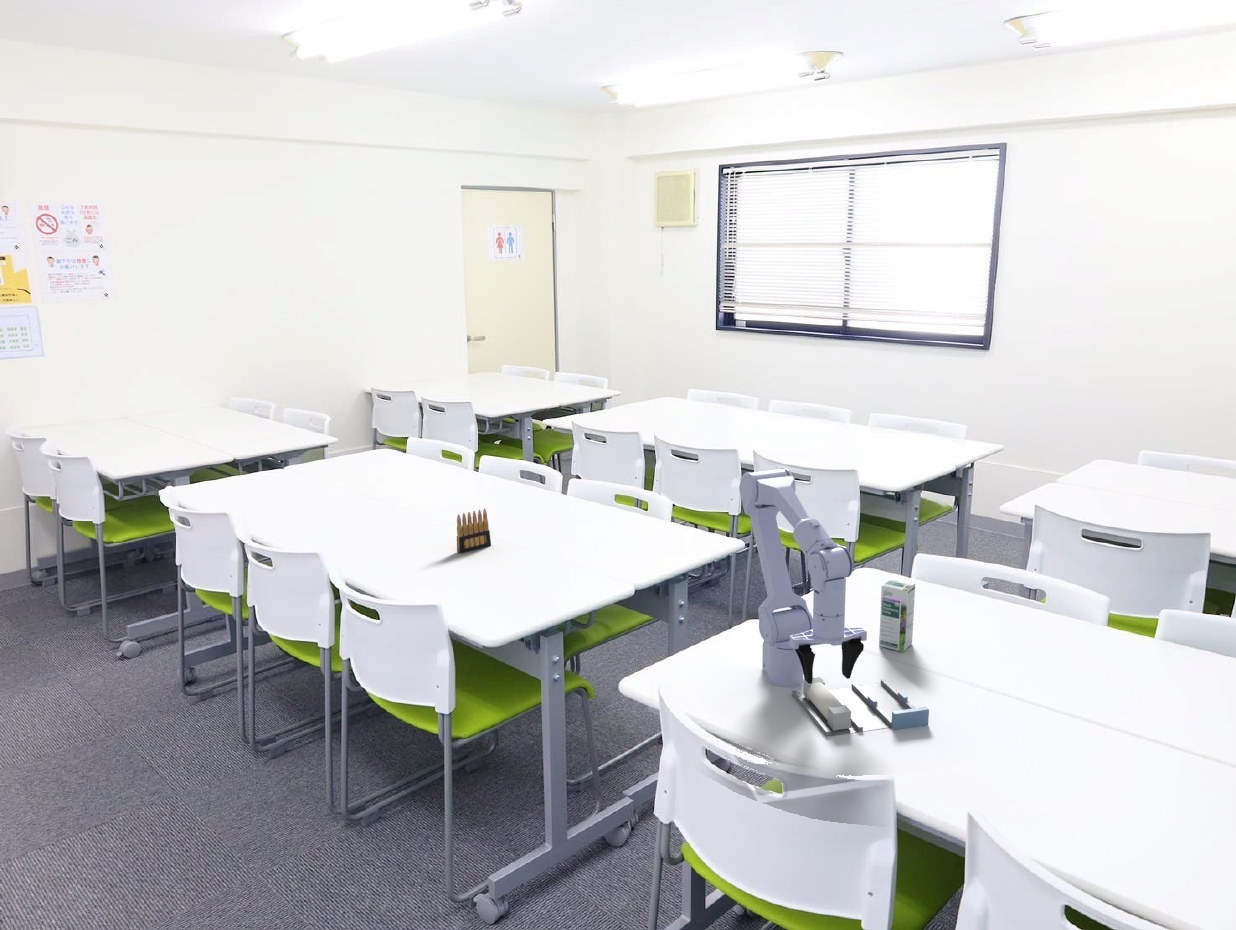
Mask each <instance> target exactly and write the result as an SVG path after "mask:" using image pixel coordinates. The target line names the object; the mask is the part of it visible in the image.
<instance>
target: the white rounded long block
mask: <svg viewBox="0 0 1236 930" xmlns="http://www.w3.org/2000/svg"><path fill="white" fill-rule="evenodd" d="M802 683H803V685H802V687H803V688H802V691H803V693H802V694H803V695H804V697H805V698H806V699H807V700H808V701H811V702H812V703H813V704H814V705H815V706H816V708H817V709H818V710H819V711H820V712H821V714H822V715H823V716H824V717H825V718H826V719H827V721H828V725H829V726H830V727H831V728H832V730H833V731H834V730H841V729H848V728H851V710H850V709H849V708H848V707H847V706H846V705H842V704H841V703H840V702H839V701H838V699H837V698H836V697H835V696H834V695H833V694H832V693H831V692H830V691H829V690H830V689H829V688H828V687H827V686H826V682H825V681H824V680H823V679H822V678H821V676H818V677H813V680H812V683H811V684H808V683H807V682H806V680H805V679H804V678H803V682H802ZM827 688H828V689H829V690H828V689H827Z"/></svg>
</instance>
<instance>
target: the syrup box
mask: <svg viewBox="0 0 1236 930" xmlns="http://www.w3.org/2000/svg"><path fill="white" fill-rule="evenodd" d="M880 592H881V593H880V618H879V637H878V647H880V648H884V649H890V650H894V651H897V652H901V653H904V652H905V651H906V650H907V649H908V648H909V647H910V646H911V645H912V643H913V631H914V613H915V596H916V583H914V582H910V581H909V582H907V581H904V580H898V579H895V578H889V579H888V580H886V581H885V582H884V583H883V584H882V585H881V591H880Z"/></svg>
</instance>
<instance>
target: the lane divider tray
mask: <svg viewBox="0 0 1236 930" xmlns="http://www.w3.org/2000/svg"><path fill="white" fill-rule="evenodd" d="M827 689H828V690H829V691H830V692H831V693H832V694H833V695H834V696H835V697H836V698H837V699H838V701H839V702H840V703H841V704H842V705H846V706H847V707H848V708H849V709H850V710H851V728H848V729H841V730H834V731H833V730H832V728H831V727H830V726H829V725H828V721H827V719H826V718H825V717H824V716H823V715H822V714H821V712H820V711H819V710H818V709H817V708H816V706H815V705H814V704H813V703H812V702H811V701H808V700H807V699H806V698H805V697H804V695H803V693H800V692H798V690H796V689H795V690H791V694H792V695H791V696H792V697H793V698H794V699H795V701H796V702H797V703H798V704H799V705H800V706H801V708H802V709H803V710H804V711H805V713H806V714H807V715H808V717H809V718H810V719H811V720H812V721H813V722H814V724H815V725H816V726H817V727H818V728H819V729H820V731H821V732H822V733H823V735H825V737H828V738H829V737H834V736H841V735H848V734H855V733H856V734H857V733H862V732H868V731H869V732H870V731H875V730H882V729H883V730H884V729H889V728H890V729H892V730H893V731H898V730H905V729H906V730H907V729H912V728H918V727H927V726H929V720H930V719H929V715H930V708H928V707H927V706H923V707H922V706H921V707H915V706H914V704H912V703H911V702H910V701H909V697H908V696H907V695H906V694H905V693H904V692H903V691H898V690H897V689H896V688H895V687H894V686H893V685H892V684H891V683H890V682H889V681H887V680H886V679H885V678H881V679H880V682H879V683H874V684H864V685H858V684H857V682H852V683H851V686H850V687H843V688H836V689H829V688H828V687H827Z"/></svg>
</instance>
